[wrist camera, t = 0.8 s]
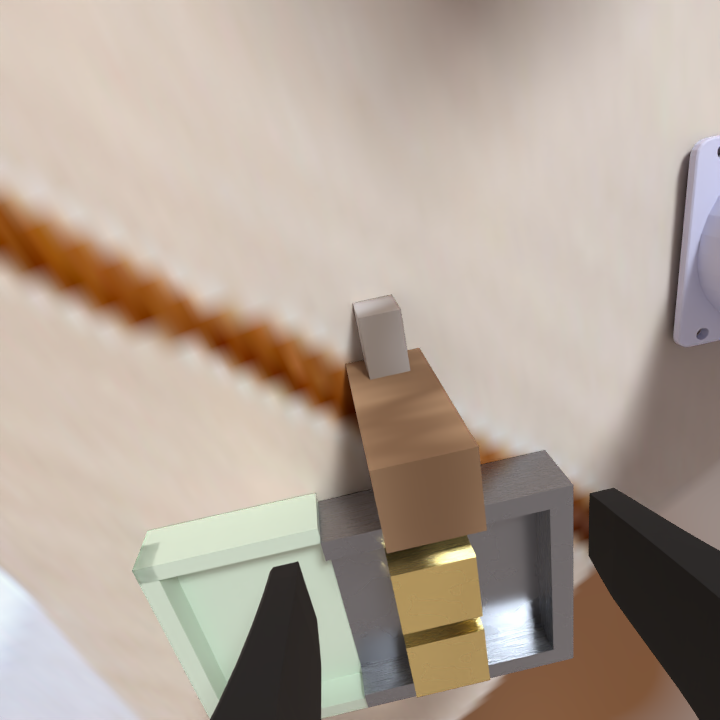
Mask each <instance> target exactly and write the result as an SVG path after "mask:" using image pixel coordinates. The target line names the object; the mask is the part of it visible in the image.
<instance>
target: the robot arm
mask: <svg viewBox="0 0 720 720" xmlns="http://www.w3.org/2000/svg"><path fill="white" fill-rule="evenodd" d="M719 147H720V135H717V136H712V137H707V138H704V139H701V140H699V141H698V142H697V143H696V144H695V145H694V147H693V148H692V150H691V154H690V161H689V171H688V182H687V193H686V204H685V215H684V225H683V236H682V247H681V258H680V268H679V279H678V290H677V301H676V311H675V322H674V333H673V338H674V341H675V342H676V343H677V344H679V345H681V346H683V347H691V346H696V345H700V344H705V343H709V342H714V341H718V340H720V155H719V157H718V154H717V151H718V148H719ZM700 329H701V332H700V333H699V334H698V335H697V332H698V331H699V330H700ZM696 335H697V336H696ZM589 557H590V559H591V561H592V562H593V564H594V566H595V568H596V570H597V571H598V573H599V575H600V577H601V579H602V580H603V582H604V584H605V586H606V587H607V589H608V591H609V592H610V594H611V596H612V597H613V599H614V600H615V601H616V603H617V604H618V606H619V607H620V609H621V610H622V611H623V613H624V614H625V616H626V617H627V618H628V620H629V621H630V622H631V624H632V625H633V627H634V628H635V629H636V631H637V632H638V634H639V635H640V636H641V638H642V639H643V640H644V642H645V643H646V644H647V646H648V647H649V649H650V650H651V651H652V653H653V654H654V655H655V657H656V658H657V659H658V661H659V662H660V664H661V665H662V666H663V668H664V669H665V671H666V672H667V673H668V675H669V676H670V677H671V679H672V680H673V682H674V683H675V684H676V686H677V687H678V688H679V690H680V691H681V693H682V694H683V696H684V697H685V699H686V700H687V702H688V703H689V704H690V706H691V708H692V709H693V711H694V712H695V714H696V715H697V717H698V718H699V720H720V551H719V550H717V549H715V548H714V547H712V546H710V545H708V544H706V543H705V542H703V541H701V540H700V539H698V538H696V537H694V536H693V535H691V534H689V533H687V532H686V531H684V530H683V529H681V528H679V527H677V526H676V525H674V524H672V523H671V522H669V521H667V520H666V519H664V518H663V517H661V516H659V515H658V514H656V513H654V512H653V511H651V510H649V509H648V508H646V507H645V506H643V505H641V504H640V503H638V502H636V501H635V500H633V499H632V498H630V497H628V496H627V495H625V494H623V493H622V492H620V491H618V490H617V489H615V488H611V489H607V490H603V491H598V492H594V493H590V503H589ZM210 720H321V655H320V644H319V633H318V623H317V618H316V614H315V611H314V608H313V605H312V602H311V599H310V596H309V593H308V590H307V587H306V583H305V580H304V577H303V574H302V571H301V568H300V565H299V562H298V561H297V562H293V563H289V564H285V565H280V566H276V567H273V568H272V569H271V571H270V573H269V576H268V580H267V583H266V586H265V589H264V592H263V595H262V598H261V601H260V604H259V607H258V610H257V612H256V615H255V618H254V621H253V623H252V626H251V628H250V631H249V633H248V636H247V638H246V641H245V643H244V646H243V648H242V651H241V653H240V656H239V658H238V661H237V663H236V665H235V667H234V670H233V672H232V674H231V676H230V678H229V680H228V683H227V685H226V687H225V689H224V691H223V694H222V696H221V698H220V700H219V702H218V704H217V706H216V708H215V710H214V712H213V714H212V716H211V718H210Z"/></svg>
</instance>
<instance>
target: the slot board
mask: <svg viewBox="0 0 720 720" xmlns="http://www.w3.org/2000/svg"><path fill="white" fill-rule="evenodd" d="M481 475H482V485H483V496H484V506H485V516H486V526H487V531H482V532H478V533H474V534H469V535H467V537H468V539H469V541H470V544H471V546H472V548H473V551H474V553H475V555H476V560H477V569H478V577H479V586H480V595H481V604H482V613H483V616H481V617H480V620H481V622H482V625H483V628H484V630H485V639H486V648H487V657H488V666H489V674H490V678H493V677H497V676H501V675H505V674H509V673H513V672H517V671H522V670H525V669H530V668H534V667H538V666H542V665H546V664H550V663H554V662H559V661H562V660H567V659H571V658H573V484H572V483H571V482H570V480H569V479H568V478H567V477H566V476H565V474H564V473H563V472H562V471H561V469H560V468H559V467H558V466H557V464H556V463H555V462H554V461H553V460H552V458H551V457H550V456H549V455H548V453H547V452H546V451H545V450H544V451H539V452H535V453H531V454H526V455H522V456H517V457H513V458H509V459H504V460H500V461H495V462H491V463H486V464H482V465H481ZM318 510H319V527H320V543H321V547H322V550H323V554H324V557H325V560H326V561H329V560H331V561H332V565H333V568H334V572H335V575H336V579H337V583H338V586H339V590H340V593H341V597H342V600H343V604H344V607H345V611H346V614H347V618H348V621H349V625H350V628H351V632H352V635H353V639H354V642H355V646H356V649H357V653H358V657H359V660H360V664H361V669H362V678H363V686H364V694H365V698H366V702H367V705H368V707H372V706H376V705H381V704H385V703H389V702H393V701H397V700H401V699H405V698H410V697H414V696H416V691H415V686H414V682H413V677H412V673H411V668H410V664H409V659H408V654H407V650H406V645H405V641H404V636H403V632H402V627H401V622H400V618H399V613H398V609H397V604H396V599H395V595H394V590H393V586H392V581H391V577H390V572H389V567H388V563H387V558H386V554H385V549H384V548H385V542H384V538H383V533H382V529H381V524H380V519H379V515H378V510H377V506H376V501H375V497H374V492H373V489H372V490H367V491H363V492H359V493H354V494H350V495H345V496H341V497H337V498H332V499H328V500H323V501H319V502H318Z"/></svg>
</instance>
